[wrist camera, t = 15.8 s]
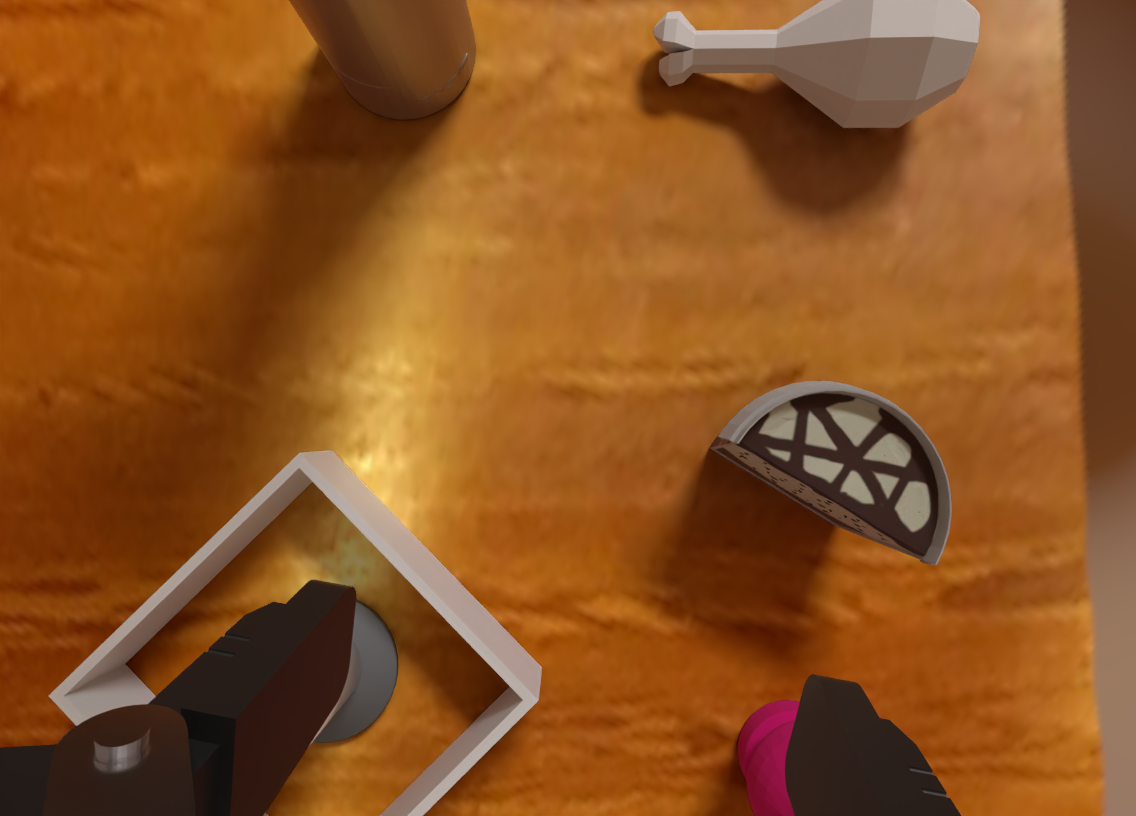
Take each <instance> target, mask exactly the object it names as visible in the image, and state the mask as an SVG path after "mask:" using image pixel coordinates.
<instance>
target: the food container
mask: <svg viewBox="0 0 1136 816" xmlns="http://www.w3.org/2000/svg"><path fill="white" fill-rule="evenodd" d="M709 448H710V449H711V450H713V451H715V452H716V453H718V454H720V455H721V456H723V457H724V458H726V459H728V460H729V461H731V462H732V463H734V464H736V465H737V466H739V467H741V468H742V469H744V470H745V471H747V472H749V473H750V474H752V475H754V476H755V477H757V478H758V479H760V480H762V481H763V482H765V483H767V484H768V485H770V486H771V487H773V488H775V489H776V490H778V491H780V492H781V493H783V494H784V495H786V496H788V497H789V498H791V499H792V500H794V501H796V502H797V503H799V504H801V505H802V506H804V507H805V508H807V509H809V510H810V511H812V512H814V513H815V514H817V515H818V516H820V517H822V518H823V519H825V520H827V521H828V522H830V523H831V524H833V525H835V526H837V527H840V528H842V529H845V530H848V531H850V532H853V533H855V534H858V535H860V536H863V537H865V538H868V539H870V540H873V541H875V542H878V543H880V544H883V545H885V546H888V547H890V548H893V549H895V550H898V551H901V552H903V553H906V554H908V555H911V556H913V557H916V558H918V559H921V560H920V561H921V562H922V563H925V564H929V565H933V566H934V565H937V563H938V561H939V559H940V557H941V555H942V553H943V551H944V548H945V545H946V541H947V538H948V535H949V530H950V523H951V516H952V506H951V492H950V486H949V480H948V476H947V473H946V470H945V468H944V465H943V462H942V459H941V458H940V456H939V454H938V452H937V450H936V448H935V446H934V444H933V443H932V442H931V440H930V439H929V438H928V436H927V435H926V434H925V432H924V431H923V430H922V428H921V427H920V426H919V425H918V424H917V423H916V422H915V421H914V420H913V419H912V418H911V417H910V416H909V415H908V414H907V413H906V412H905V411H903V410H902V409H900V408H899V407H898V406H896V405H895V404H894V403H892V402H891V401H889V400H887V399H885V398H883V397H881V396H879V395H877V394H875V393H872V392H869V391H866V390H863V389H860V388H857V387H854V386H851V385H848V384H843V383H837V382H831V381H807V382H800V383H794V384H789V385H786V386H783V387H780V388H777V389H774V390H772V391H770V392H768V393H766V394H764V395H762V396H760V397H758V398H756V399H755V400H753V401H752V402H751V403H749V404H748V405H747V406H745V407H744V408H743V409H741V410H740V411H739V412H738V413H737V414H736V415H735V416H734V417H733V418H732V419H731V420H730V421H729V422H728V424H727V425H726V426H725V428H724V429H723V430H722V432H721V433H720V434H719V435H718V436H717V438H716V439H715V440H714V442H713V443H712V445H711V446H710V447H709Z"/></svg>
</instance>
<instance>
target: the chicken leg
mask: <svg viewBox="0 0 1136 816" xmlns="http://www.w3.org/2000/svg"><path fill="white" fill-rule="evenodd" d="M979 24H980V14H979V13H978V12H977V10H976V9H975V8H974V7H973V6H972V5H971V4H970V3H969V2H968V1H966V0H822V1H821V2H819V3H818V4H816V5H815V6H813V7H811V8H810V9H808V10H807V11H805V12H804V13H802V14H801V15H799V16H798V17H796V18H795V19H793V20H791V21H790V22H788V23H787V24H785V25H784V26H782V27H781V28H779V29H778V30H713V31H696V30H695V28H694V27H693V26H692V25H691V24H690V23H689V21H688V20H687V19H686V18H685V17H684V16H683V14H682V13H681V12H680V11H676V12H667V13H666V14H665V16H664V17H663V18H662V19H661V20H660V21H659V22H658V23H657V24H656V26H655V28H654V36H655V38H656V40H657V41H658V43H659V45H660V46H661V48H662V49H663V51H664V53H668V54H669V55H667V56H665V57H664V58H662V59H661V60H659V74H660V75H661V77H662V78H663V79H664V81H665V82H666V83H667V84H668V86H669V87H670V86H673V85H677V84H681V83H683V82H684V81H685V80H686V79H687V78H688V77H689V76H690V75H691V74H692V73H772V74H774V75H775V76H776V77H777V78H779V79H780V80H781V81H783V82H784V83H785V84H787V85H788V86H789V87H791V88H792V89H793V90H794V91H796V92H797V93H798V94H800V95H801V96H802V97H804V98H805V99H806V100H807V101H809V102H810V103H811V104H813V105H814V106H815V107H817V108H818V109H819V110H821V111H822V112H823V113H824V114H826V115H827V116H828V117H830V118H831V119H832V120H834V121H835V122H836V123H838V124H839V125H840V126H841V127H843V128H899V127H901V126H902V125H904V124H905V123H907V122H909V121H910V120H912V119H913V118H915V117H917V116H918V115H920V114H921V113H923V112H925V111H926V110H928V109H929V108H931V107H933V106H934V105H936V104H937V103H939V102H940V101H942V100H944V99H945V98H947V97H948V96H950V95H952V94H953V93H955V92H956V91H957V89H958V88H959V86H960V85H961V83H962V82H963V81H964V79H965V78H966V76H967V74H968V71H969V68H970V65H971V62H972V59H973V56H974V53H975V50H976V47H977V44H978V35H979Z"/></svg>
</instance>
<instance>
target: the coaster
mask: <svg viewBox="0 0 1136 816" xmlns="http://www.w3.org/2000/svg"><path fill="white" fill-rule="evenodd" d="M352 641H353V642H354V644H355V645H356V647H357V649H358V651H359V654H360V657H361V663H362V670H361V677H360V680H359V683H358V685H357V687H356V689H355V690H354V692H353V693H352V694H351V695H350V697H349V698H348V699H347V700H346V702H345V703H344V704H343V705H342V706H341V708H340V709H339V710H338V711H337V713H336V714H335V715H334V716H333V717H332V719H331V720H330V721H329V722H328V724H327V725H326V726H325V727H324V728H323V730H322V731H321V732H320V733H319V735H318V736H317V737H316V738H315V739H314V741H313V742H318V743H327V742H335V741H340V740H343V739H346V738H349V737H352V736H354V735H356V734H358V733H359V732H361V731H362V730H364V729H365V728H367V727H368V726H369V725H370V724H371V723H373V722H374V721H375V719H376V718H377V717H378V716H379V715H380V714H381V712H382V711H383V709H384V708H385V706H386V705H387V703H388V701H389V700H390V698H391V696H392V693H393V691H394V688H395V685H396V680H397V676H398V655H397V649H396V645H395V642H394V639H393V637H392V635H391V632H390V630H389V629H388V627H387V626H386V624H385V622H384V621H383V620H382V619H381V618H380V616H379V615H378V614H377V613H376V612H374V611H373V610H372V609H371V608H370V607H368V606H367V605H365V604H364V603H362V602H360V601H358V600H356V607H355V617H354V627H353V637H352Z"/></svg>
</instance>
